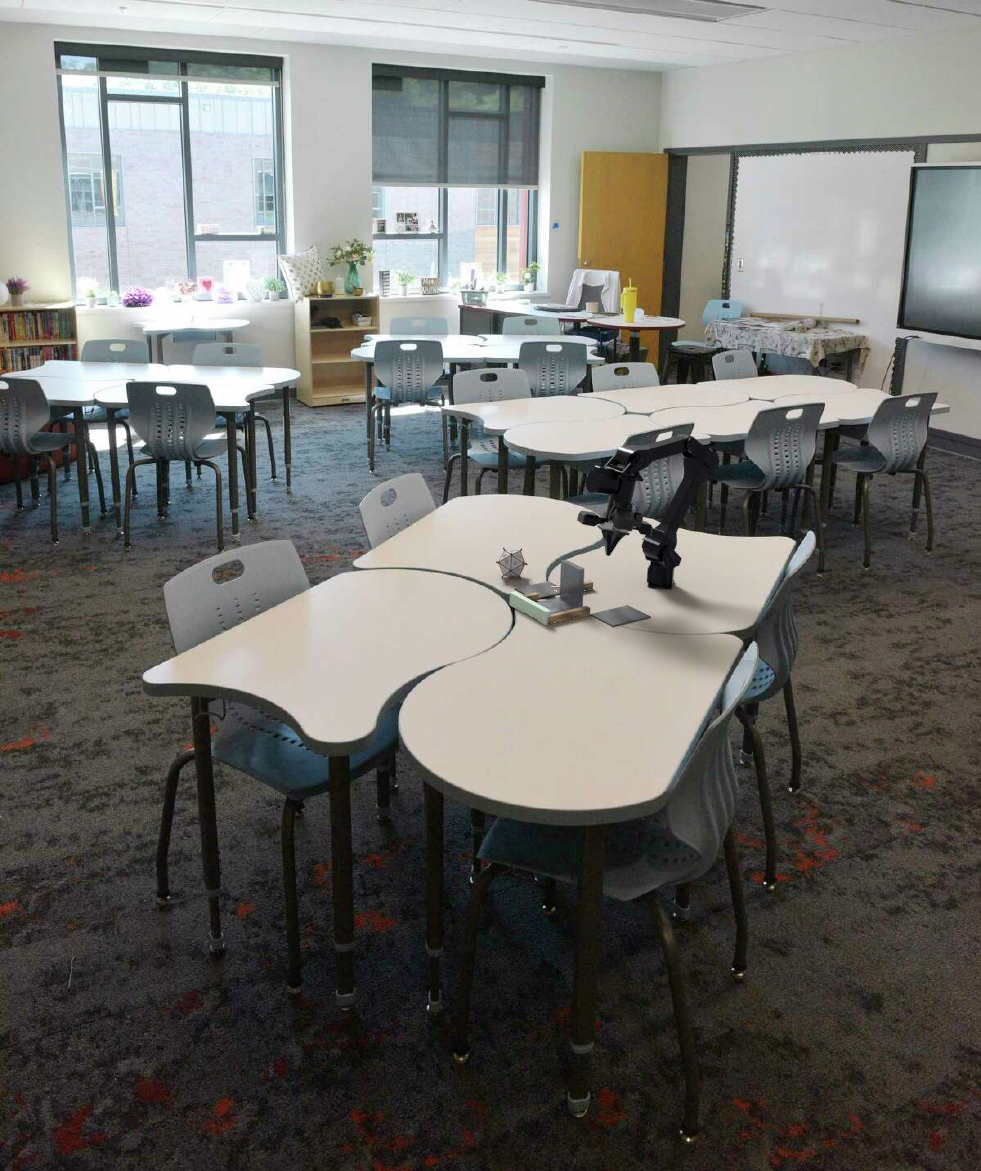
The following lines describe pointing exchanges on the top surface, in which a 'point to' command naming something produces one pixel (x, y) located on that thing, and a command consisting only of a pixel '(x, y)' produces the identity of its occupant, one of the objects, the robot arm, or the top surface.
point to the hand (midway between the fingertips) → (607, 555)
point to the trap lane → (608, 616)
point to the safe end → (529, 607)
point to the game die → (511, 563)
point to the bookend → (567, 589)
